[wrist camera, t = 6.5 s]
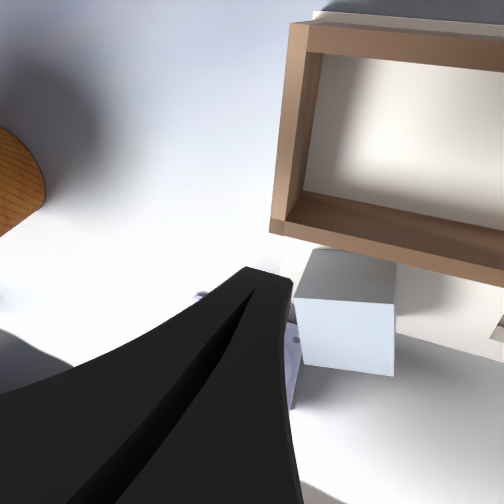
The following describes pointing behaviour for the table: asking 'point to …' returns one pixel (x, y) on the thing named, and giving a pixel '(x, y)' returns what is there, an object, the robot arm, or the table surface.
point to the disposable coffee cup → (17, 183)
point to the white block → (348, 312)
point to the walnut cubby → (364, 214)
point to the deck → (414, 169)
